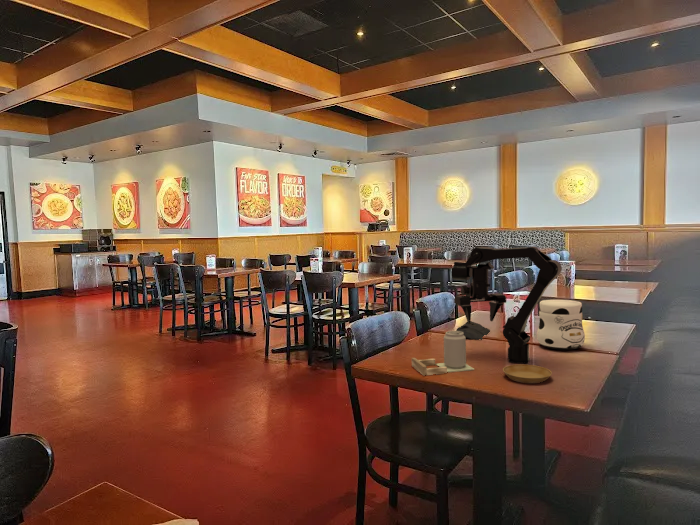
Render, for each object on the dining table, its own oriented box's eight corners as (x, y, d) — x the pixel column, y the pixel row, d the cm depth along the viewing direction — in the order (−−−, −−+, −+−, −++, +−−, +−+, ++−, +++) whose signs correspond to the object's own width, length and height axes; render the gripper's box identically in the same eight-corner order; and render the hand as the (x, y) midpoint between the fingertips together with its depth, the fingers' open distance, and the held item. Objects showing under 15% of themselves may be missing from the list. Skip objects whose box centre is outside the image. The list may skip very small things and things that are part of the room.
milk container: (579, 355, 180) (579, 307, 179) (531, 349, 191) (531, 303, 190) (589, 345, 194) (589, 300, 193) (544, 340, 205) (543, 298, 203)
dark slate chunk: (447, 339, 214) (447, 328, 214) (459, 329, 234) (458, 319, 234) (483, 341, 207) (482, 330, 207) (491, 331, 227) (491, 321, 227)
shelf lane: (434, 364, 174) (433, 355, 174) (447, 373, 163) (447, 364, 163) (411, 366, 173) (411, 357, 173) (423, 375, 161) (423, 366, 161)
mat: (461, 362, 176) (461, 361, 176) (474, 369, 166) (474, 368, 166) (435, 364, 174) (435, 363, 174) (446, 372, 164) (446, 371, 164)
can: (466, 369, 165) (465, 334, 164) (443, 368, 167) (443, 334, 166) (465, 363, 173) (465, 330, 172) (444, 362, 174) (443, 329, 173)
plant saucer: (558, 377, 156) (558, 369, 156) (541, 389, 145) (541, 380, 145) (514, 369, 166) (514, 361, 166) (495, 380, 155) (495, 372, 155)
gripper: (491, 277, 191) (491, 316, 192) (447, 279, 186) (447, 319, 188) (507, 280, 180) (507, 322, 181) (460, 282, 176) (460, 325, 177)
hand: (480, 322), depth 182 cm, fingers open, 9 cm apart
